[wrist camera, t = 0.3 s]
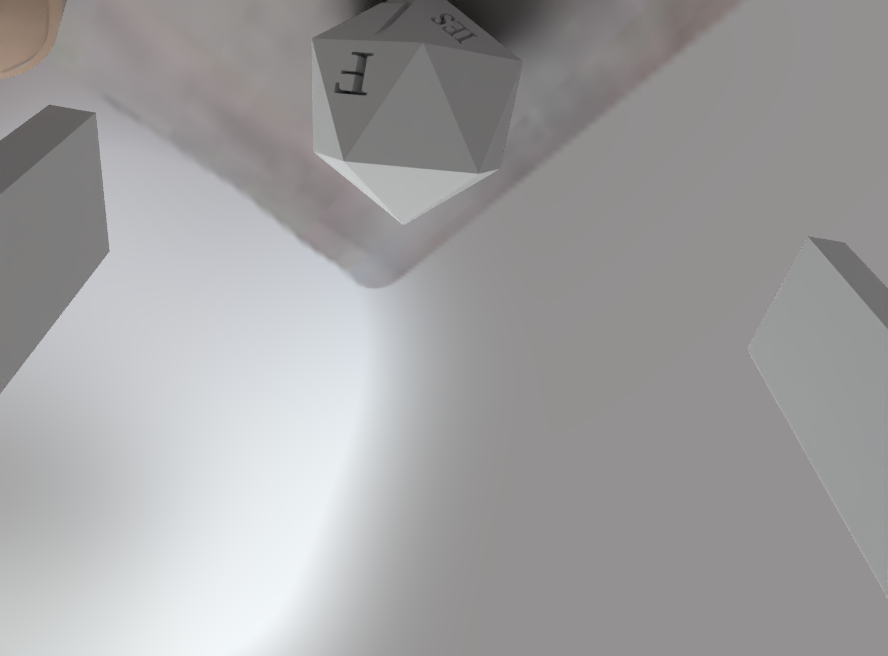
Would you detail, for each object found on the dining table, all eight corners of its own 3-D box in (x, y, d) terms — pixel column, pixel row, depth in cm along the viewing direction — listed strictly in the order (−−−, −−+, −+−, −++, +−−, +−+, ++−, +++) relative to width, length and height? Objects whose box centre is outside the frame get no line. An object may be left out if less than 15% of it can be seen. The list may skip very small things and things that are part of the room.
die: (547, -40, 28) (415, 46, 22) (557, 162, 33) (454, 277, 27) (377, -36, 32) (226, 39, 26) (411, 145, 37) (293, 241, 31)
